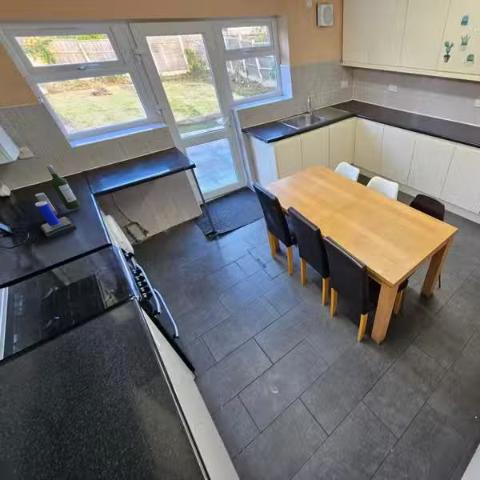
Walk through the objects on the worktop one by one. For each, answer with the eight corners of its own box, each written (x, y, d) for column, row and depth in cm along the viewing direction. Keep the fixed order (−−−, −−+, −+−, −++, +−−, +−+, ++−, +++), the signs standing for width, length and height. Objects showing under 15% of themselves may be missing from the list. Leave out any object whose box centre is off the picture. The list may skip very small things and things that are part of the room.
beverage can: (59, 221, 170) (45, 200, 162) (60, 224, 167) (46, 202, 159) (49, 224, 167) (34, 202, 159) (50, 227, 164) (34, 205, 156)
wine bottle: (73, 204, 193) (49, 163, 176) (83, 204, 192) (59, 163, 175) (63, 209, 187) (37, 167, 170) (73, 209, 186) (48, 167, 169)
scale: (49, 239, 161) (46, 235, 159) (42, 229, 169) (39, 225, 168) (76, 228, 170) (74, 224, 168) (69, 219, 178) (66, 216, 176)
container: (47, 215, 182) (33, 195, 173) (54, 212, 185) (41, 192, 176) (51, 216, 180) (37, 196, 172) (59, 213, 184) (46, 193, 175)
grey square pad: (47, 233, 162) (46, 232, 161) (42, 226, 168) (41, 225, 167) (71, 224, 169) (70, 223, 168) (65, 217, 175) (64, 216, 174)
